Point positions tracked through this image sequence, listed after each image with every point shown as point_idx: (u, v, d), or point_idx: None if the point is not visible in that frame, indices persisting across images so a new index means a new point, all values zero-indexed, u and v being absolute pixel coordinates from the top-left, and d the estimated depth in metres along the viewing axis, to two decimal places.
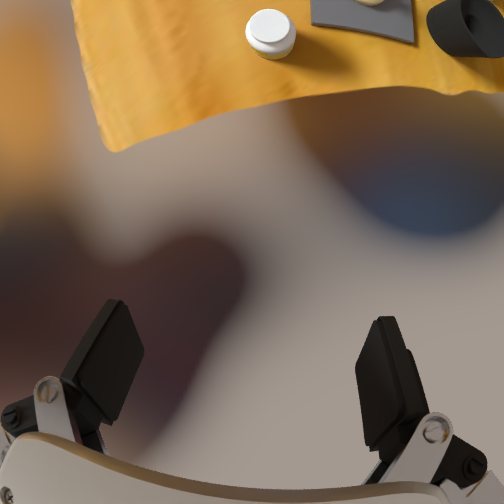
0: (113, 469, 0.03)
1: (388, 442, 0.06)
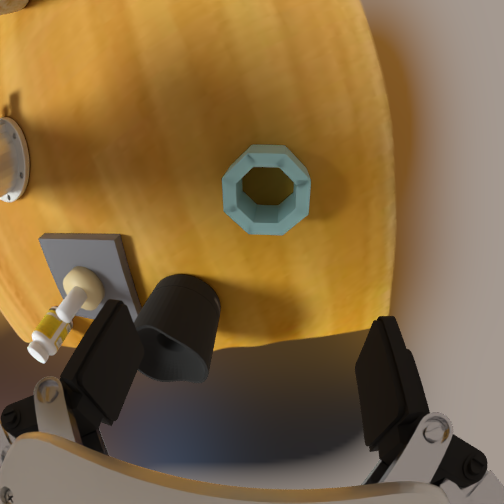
0: (113, 468, 0.03)
1: (388, 442, 0.06)
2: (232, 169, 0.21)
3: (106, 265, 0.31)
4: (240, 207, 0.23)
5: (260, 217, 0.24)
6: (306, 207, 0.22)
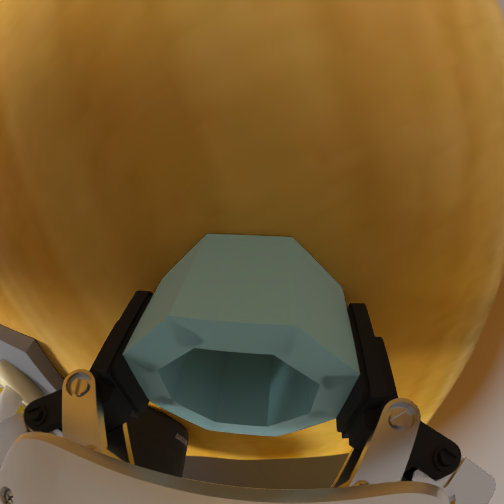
0: (113, 469, 0.03)
1: (356, 427, 0.07)
2: (139, 344, 0.07)
3: (30, 371, 0.17)
4: (181, 397, 0.09)
5: (231, 400, 0.10)
6: (335, 410, 0.08)
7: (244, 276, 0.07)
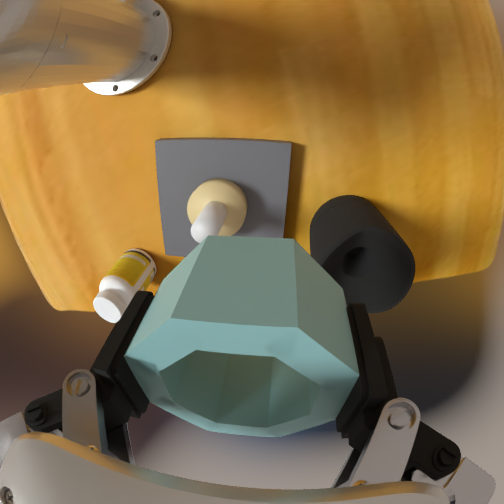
0: (114, 469, 0.03)
1: (355, 427, 0.07)
2: (141, 346, 0.07)
3: (265, 176, 0.27)
4: (182, 398, 0.09)
5: (232, 401, 0.10)
6: (336, 411, 0.08)
7: (245, 278, 0.07)
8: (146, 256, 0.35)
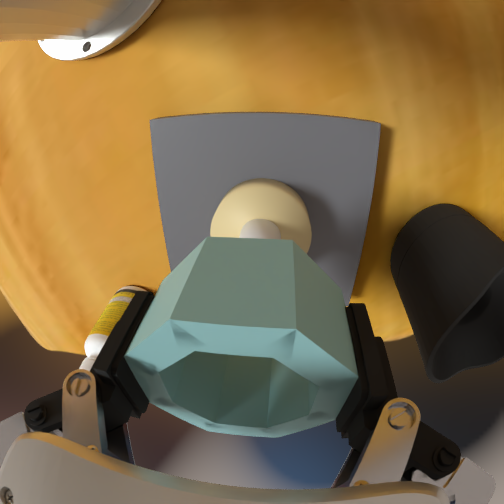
0: (114, 469, 0.03)
1: (355, 427, 0.07)
2: (140, 347, 0.07)
3: (339, 174, 0.16)
4: (181, 398, 0.09)
5: (231, 402, 0.10)
6: (335, 412, 0.08)
7: (244, 280, 0.07)
8: None
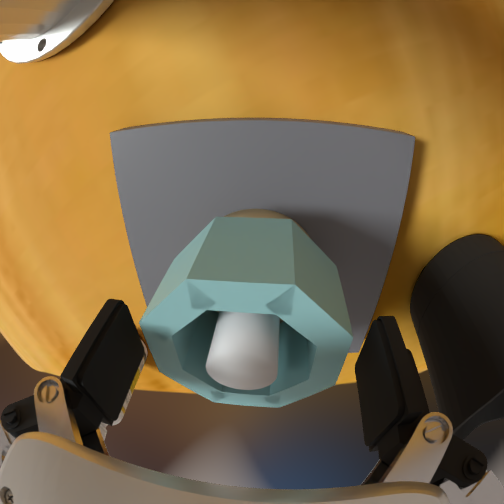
0: (113, 469, 0.03)
1: (388, 442, 0.06)
2: (157, 310, 0.08)
3: (359, 204, 0.12)
4: (191, 367, 0.10)
5: None
6: (332, 377, 0.09)
7: (250, 248, 0.09)
8: None
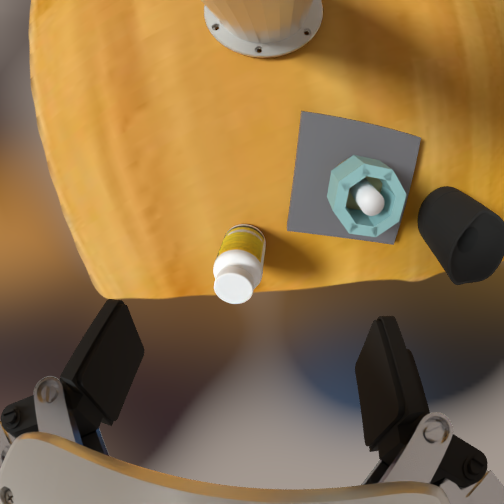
0: (114, 468, 0.03)
1: (388, 442, 0.06)
2: (349, 175, 0.23)
3: (398, 161, 0.27)
4: (346, 209, 0.25)
5: (357, 220, 0.26)
6: (398, 215, 0.24)
7: (374, 162, 0.24)
8: (260, 232, 0.34)
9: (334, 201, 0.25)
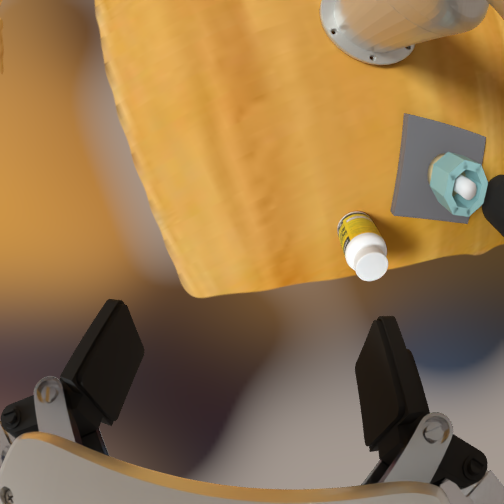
0: (114, 469, 0.03)
1: (388, 442, 0.06)
2: (455, 168, 0.24)
3: (472, 156, 0.28)
4: (451, 195, 0.26)
5: (456, 203, 0.27)
6: (483, 199, 0.25)
7: (466, 158, 0.25)
8: (370, 218, 0.36)
9: (444, 189, 0.26)
